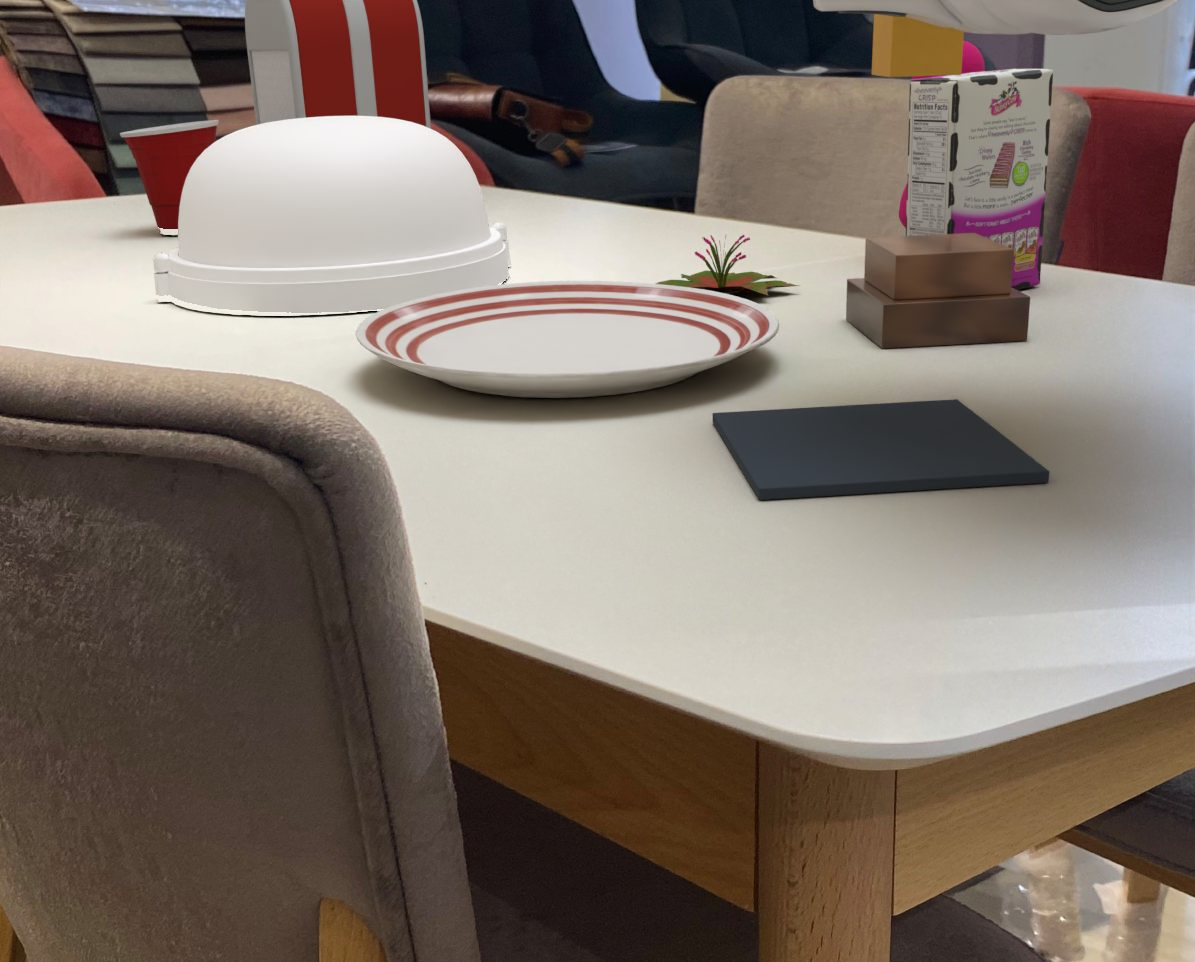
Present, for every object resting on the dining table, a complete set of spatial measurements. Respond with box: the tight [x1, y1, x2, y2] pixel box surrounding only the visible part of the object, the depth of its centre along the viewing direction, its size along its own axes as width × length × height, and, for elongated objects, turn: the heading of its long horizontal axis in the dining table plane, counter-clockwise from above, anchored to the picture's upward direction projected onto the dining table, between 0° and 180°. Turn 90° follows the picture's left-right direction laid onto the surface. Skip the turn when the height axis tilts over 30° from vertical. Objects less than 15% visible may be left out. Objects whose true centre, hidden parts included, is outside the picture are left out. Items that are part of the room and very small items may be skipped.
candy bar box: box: [905, 68, 1054, 291], centre depth 110 cm, size 11×5×16 cm, turn 126°
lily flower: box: [655, 234, 800, 297], centre depth 116 cm, size 12×12×5 cm
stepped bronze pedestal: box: [845, 233, 1031, 350], centre depth 100 cm, size 10×10×6 cm
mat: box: [712, 398, 1050, 501], centre depth 74 cm, size 14×14×1 cm
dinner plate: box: [355, 280, 780, 399], centre depth 94 cm, size 28×27×3 cm
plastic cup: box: [119, 119, 220, 229], centre depth 161 cm, size 11×11×12 cm
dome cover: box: [152, 116, 512, 313], centre depth 125 cm, size 32×30×14 cm
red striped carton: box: [244, 0, 432, 129], centre depth 181 cm, size 16×18×27 cm
